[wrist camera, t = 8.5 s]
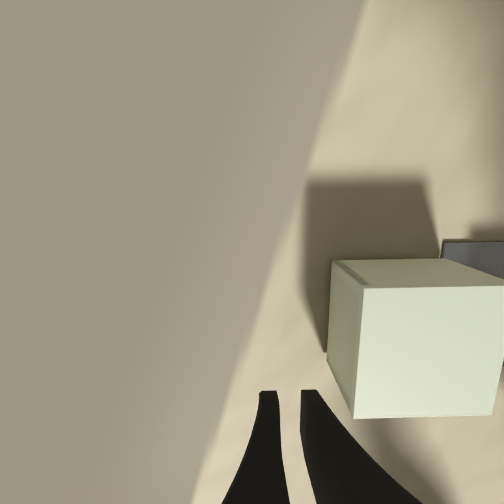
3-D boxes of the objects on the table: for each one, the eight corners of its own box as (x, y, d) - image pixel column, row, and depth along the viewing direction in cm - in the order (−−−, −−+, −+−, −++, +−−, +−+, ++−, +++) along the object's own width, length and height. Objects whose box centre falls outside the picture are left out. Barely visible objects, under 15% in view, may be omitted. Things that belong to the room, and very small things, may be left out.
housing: (445, 258, 20) (519, 285, 14) (430, 357, 22) (491, 415, 16) (331, 260, 20) (364, 288, 14) (326, 360, 21) (353, 419, 16)
